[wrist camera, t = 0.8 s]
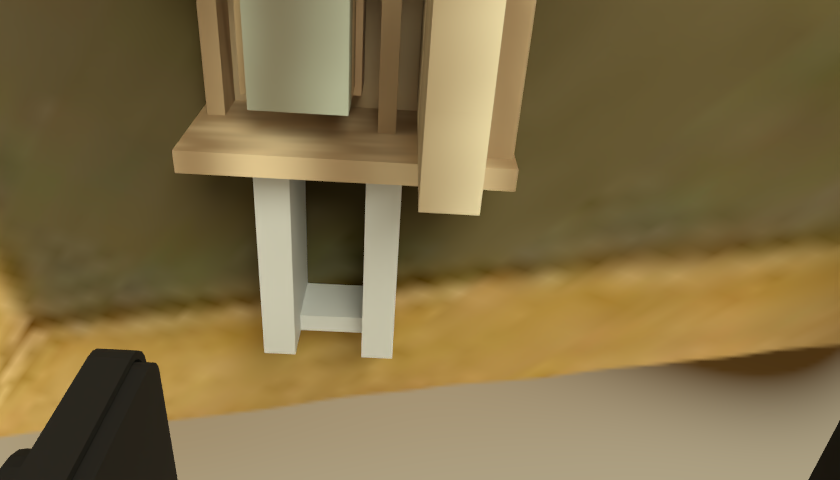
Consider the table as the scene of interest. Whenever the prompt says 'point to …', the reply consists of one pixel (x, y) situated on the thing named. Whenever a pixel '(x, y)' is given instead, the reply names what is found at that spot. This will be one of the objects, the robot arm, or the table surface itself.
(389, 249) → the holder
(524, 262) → the table surface
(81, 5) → the table surface
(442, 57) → the wooden board
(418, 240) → the table surface
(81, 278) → the table surface
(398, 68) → the rack
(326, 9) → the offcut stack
